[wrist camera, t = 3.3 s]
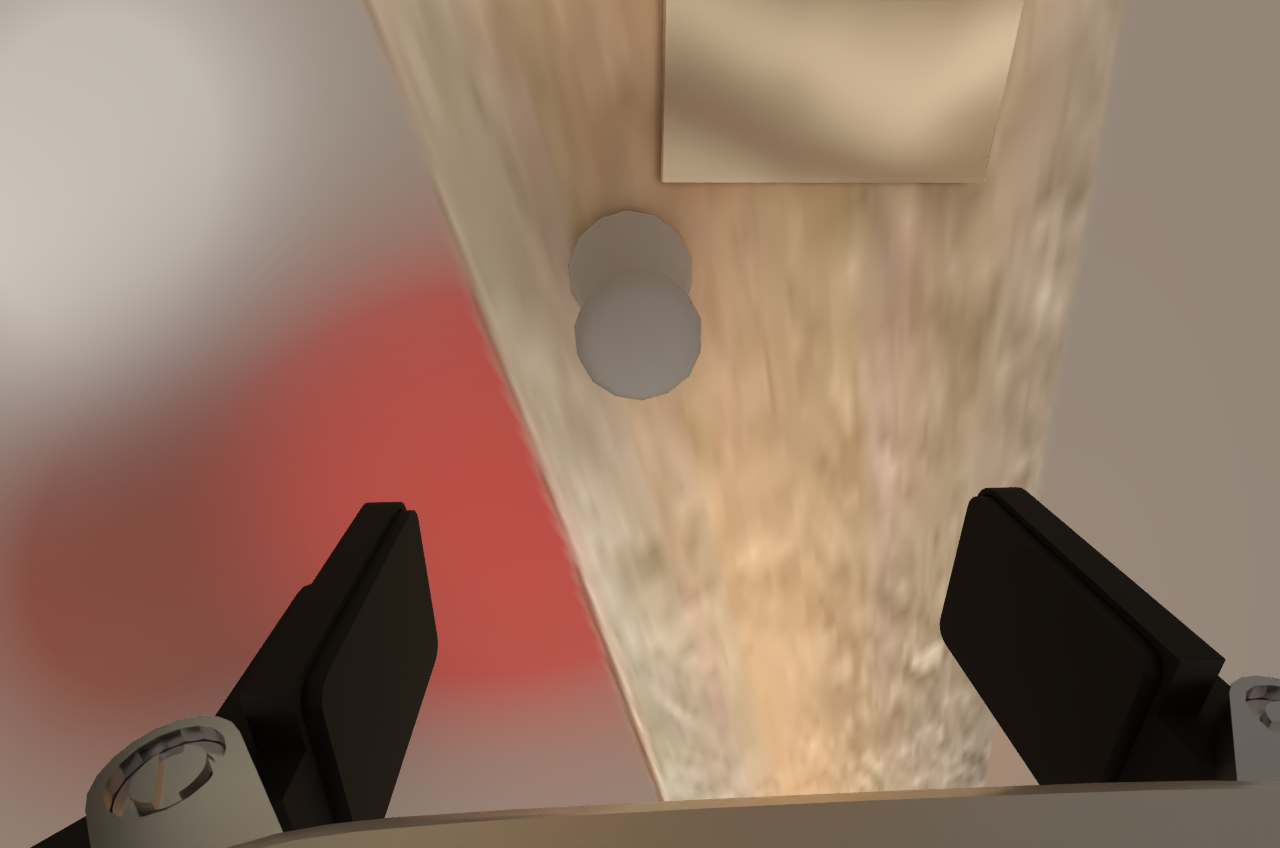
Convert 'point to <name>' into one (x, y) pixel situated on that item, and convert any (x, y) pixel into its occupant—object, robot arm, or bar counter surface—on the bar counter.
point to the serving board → (833, 89)
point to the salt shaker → (634, 305)
